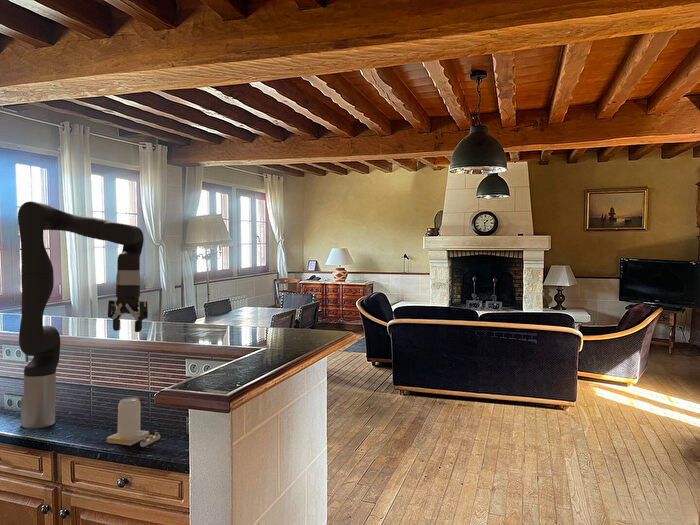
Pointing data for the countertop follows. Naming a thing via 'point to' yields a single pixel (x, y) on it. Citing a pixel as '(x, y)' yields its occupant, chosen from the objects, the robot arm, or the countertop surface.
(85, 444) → the countertop surface
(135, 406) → the can
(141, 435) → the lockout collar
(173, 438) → the countertop surface
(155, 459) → the countertop surface
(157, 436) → the indicator bank
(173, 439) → the countertop surface
